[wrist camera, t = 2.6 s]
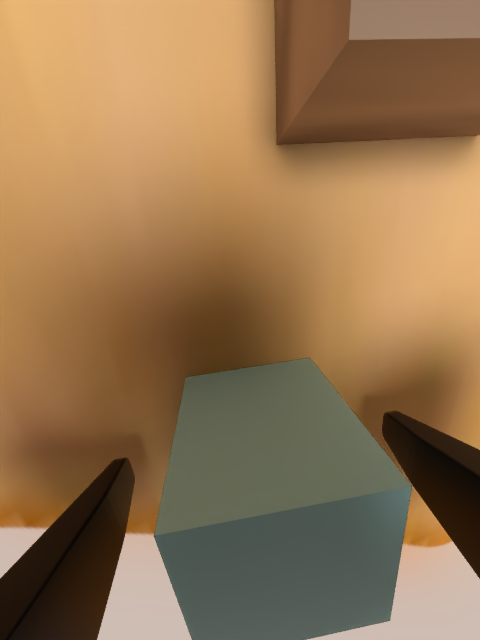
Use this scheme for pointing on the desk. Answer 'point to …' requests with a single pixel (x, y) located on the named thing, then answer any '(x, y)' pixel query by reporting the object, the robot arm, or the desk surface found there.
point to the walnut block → (376, 69)
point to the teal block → (278, 508)
